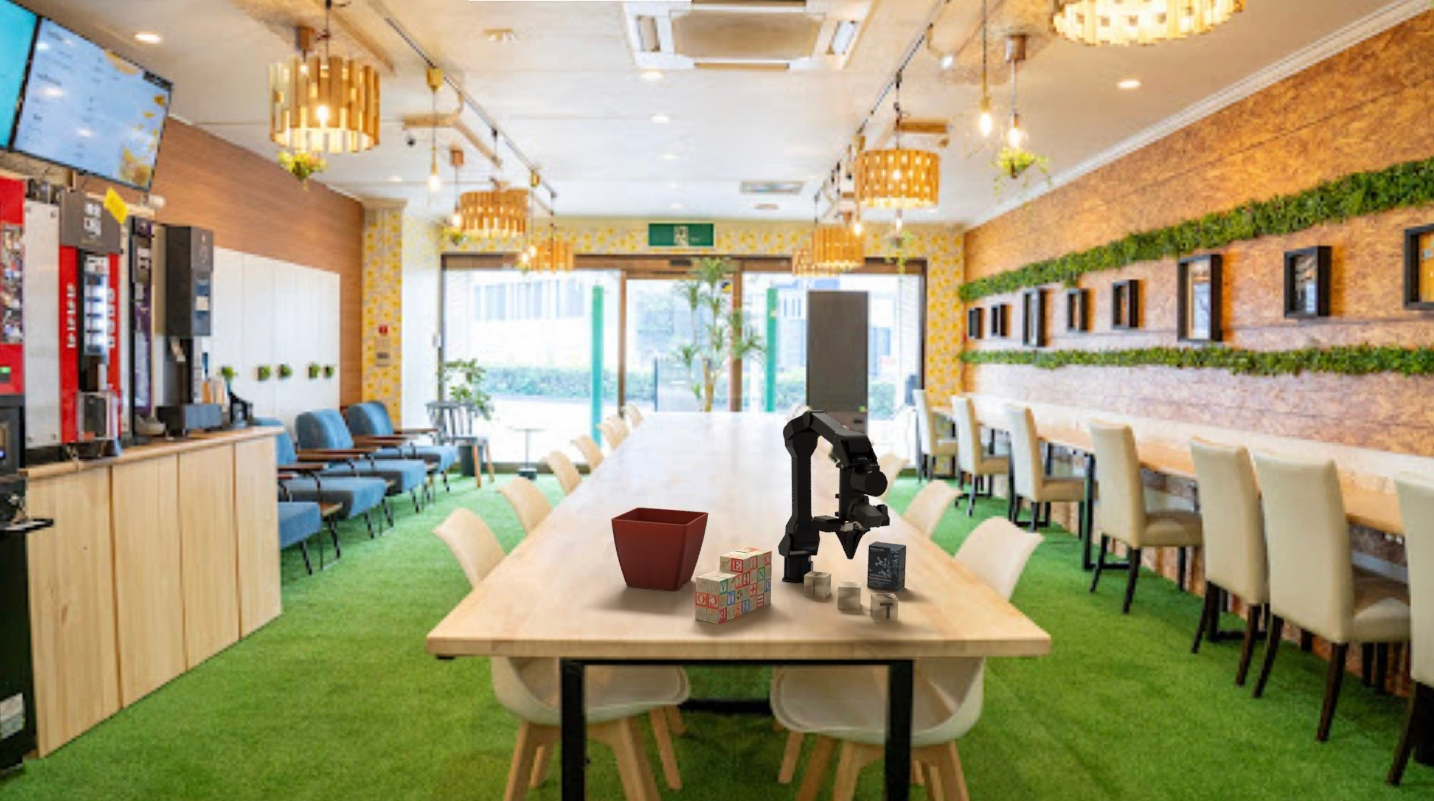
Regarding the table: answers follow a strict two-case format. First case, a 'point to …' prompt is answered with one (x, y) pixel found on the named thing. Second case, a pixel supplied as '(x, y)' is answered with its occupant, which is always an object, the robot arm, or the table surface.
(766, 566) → the stack of blocks
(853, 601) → the plain maple cube
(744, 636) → the table surface
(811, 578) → the numeral cube one
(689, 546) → the plant pot
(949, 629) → the table surface
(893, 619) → the letter t cube
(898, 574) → the box
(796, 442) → the robot arm
